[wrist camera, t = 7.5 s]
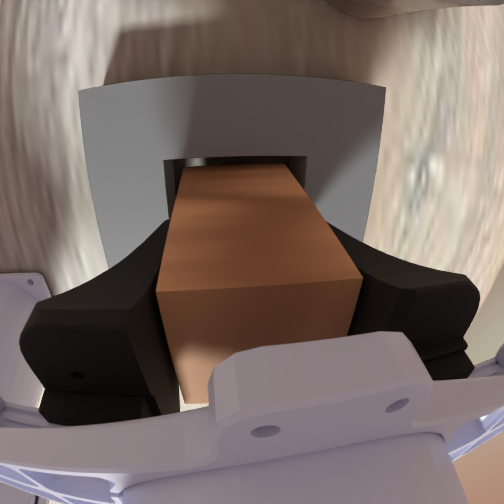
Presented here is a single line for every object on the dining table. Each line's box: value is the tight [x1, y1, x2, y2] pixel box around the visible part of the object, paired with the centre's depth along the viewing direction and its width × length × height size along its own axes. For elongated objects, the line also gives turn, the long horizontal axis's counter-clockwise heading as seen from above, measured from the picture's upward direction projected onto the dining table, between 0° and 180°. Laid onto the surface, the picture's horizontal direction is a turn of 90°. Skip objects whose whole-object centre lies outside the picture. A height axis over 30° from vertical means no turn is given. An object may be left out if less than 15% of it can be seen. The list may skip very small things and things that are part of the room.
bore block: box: [78, 74, 386, 269], centre depth 14 cm, size 12×12×3 cm
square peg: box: [156, 164, 363, 404], centre depth 11 cm, size 4×4×8 cm
